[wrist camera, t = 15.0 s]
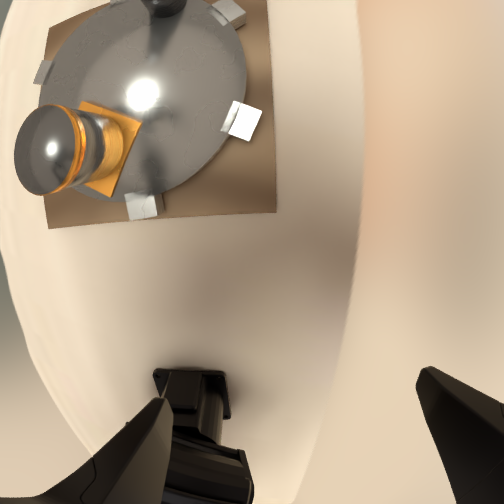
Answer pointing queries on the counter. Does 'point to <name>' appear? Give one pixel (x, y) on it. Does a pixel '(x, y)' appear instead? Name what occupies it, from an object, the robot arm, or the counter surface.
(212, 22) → the sprocket
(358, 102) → the counter surface
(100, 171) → the roller
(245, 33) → the sprocket base
